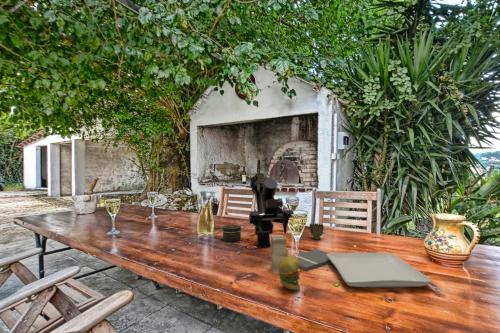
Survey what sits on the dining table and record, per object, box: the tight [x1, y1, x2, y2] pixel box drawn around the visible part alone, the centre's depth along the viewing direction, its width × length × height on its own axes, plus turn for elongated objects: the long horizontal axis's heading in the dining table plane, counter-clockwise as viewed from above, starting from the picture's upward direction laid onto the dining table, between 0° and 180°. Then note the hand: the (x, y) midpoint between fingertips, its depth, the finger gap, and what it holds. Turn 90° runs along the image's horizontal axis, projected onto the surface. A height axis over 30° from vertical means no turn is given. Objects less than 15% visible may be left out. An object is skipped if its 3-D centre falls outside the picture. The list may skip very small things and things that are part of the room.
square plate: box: [326, 252, 433, 288], centre depth 100 cm, size 27×27×4 cm
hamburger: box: [278, 254, 301, 291], centre depth 90 cm, size 8×7×12 cm
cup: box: [309, 222, 324, 241], centre depth 149 cm, size 8×7×8 cm
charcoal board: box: [292, 248, 333, 272], centre depth 115 cm, size 13×20×2 cm, turn 124°
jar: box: [222, 224, 242, 244], centre depth 149 cm, size 10×10×8 cm
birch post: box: [270, 234, 288, 275], centre depth 105 cm, size 5×5×13 cm
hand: (274, 234), depth 112 cm, fingers open, 9 cm apart
